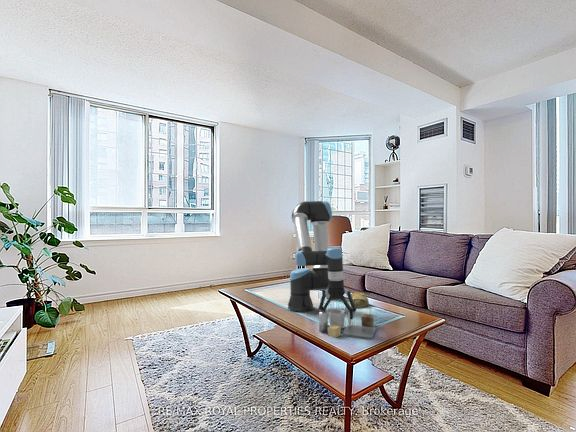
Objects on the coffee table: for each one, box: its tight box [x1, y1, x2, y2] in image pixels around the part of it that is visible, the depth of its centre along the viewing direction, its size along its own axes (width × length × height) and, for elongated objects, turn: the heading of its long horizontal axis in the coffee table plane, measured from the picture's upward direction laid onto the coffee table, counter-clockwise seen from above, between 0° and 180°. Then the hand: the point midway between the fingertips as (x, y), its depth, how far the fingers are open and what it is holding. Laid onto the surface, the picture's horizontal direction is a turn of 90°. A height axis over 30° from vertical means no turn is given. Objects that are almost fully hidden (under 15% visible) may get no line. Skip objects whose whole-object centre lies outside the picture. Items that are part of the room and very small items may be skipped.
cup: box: [327, 308, 346, 330], centre depth 147 cm, size 11×8×8 cm
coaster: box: [341, 324, 377, 341], centre depth 138 cm, size 13×13×1 cm
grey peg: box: [318, 310, 329, 334], centre depth 141 cm, size 4×4×9 cm
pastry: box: [349, 291, 370, 308], centre depth 184 cm, size 14×12×8 cm
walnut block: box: [360, 313, 375, 327], centre depth 148 cm, size 5×5×5 cm
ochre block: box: [327, 325, 342, 339], centre depth 136 cm, size 4×4×4 cm
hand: (338, 324), depth 146 cm, fingers open, 11 cm apart
